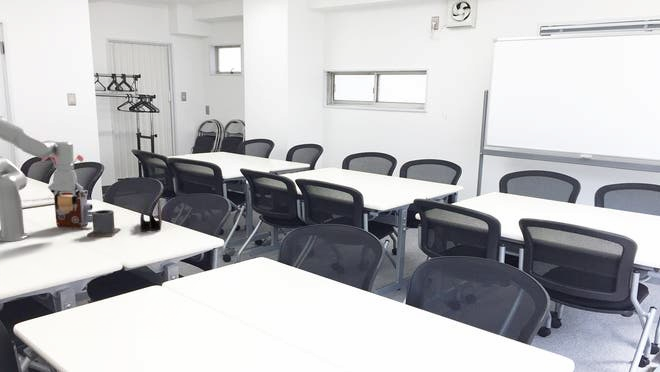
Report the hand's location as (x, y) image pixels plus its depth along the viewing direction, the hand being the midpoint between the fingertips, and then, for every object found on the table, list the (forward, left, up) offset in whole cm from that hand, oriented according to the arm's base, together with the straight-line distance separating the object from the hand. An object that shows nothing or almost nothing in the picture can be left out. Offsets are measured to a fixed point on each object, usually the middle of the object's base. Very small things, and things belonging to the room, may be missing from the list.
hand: (66, 203), depth 248 cm
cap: (0, 0, -4) cm, 4 cm away
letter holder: (+34, +20, -17) cm, 43 cm away
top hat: (+15, +6, -17) cm, 23 cm away
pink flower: (-51, +105, -17) cm, 118 cm away
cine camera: (-4, +19, -17) cm, 26 cm away
